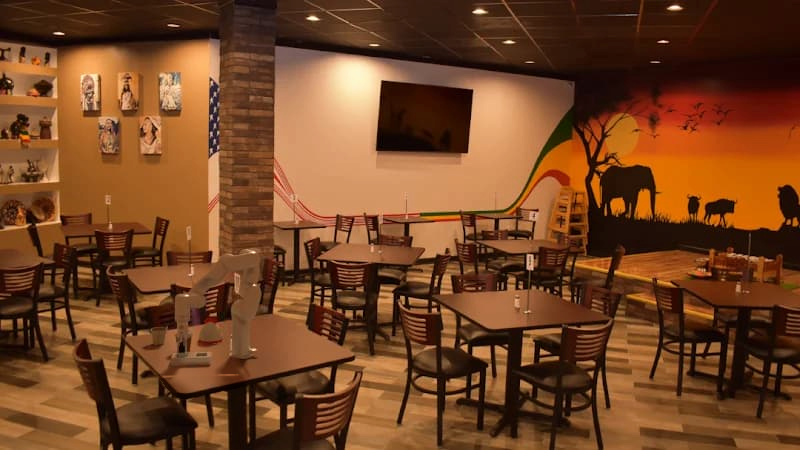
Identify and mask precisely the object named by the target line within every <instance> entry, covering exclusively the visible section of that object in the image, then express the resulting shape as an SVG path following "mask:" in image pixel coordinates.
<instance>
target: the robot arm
mask: <svg viewBox="0 0 800 450" xmlns="http://www.w3.org/2000/svg"><path fill="white" fill-rule="evenodd" d="M260 263H261V255H259V253H258V252H257V251H254V250H252V249H249V248H248V249H247V248H244V249H241V250H240V251H239V253H238V254H231V253H228V252H227V253H226V252H225V253H223V254H222V255H221V256H220V257H219V259H217V261H216V262H215V263H214V265H213V266H212V267H211V268H210V270H209V271H208V272H207V274H205V275H204V276H202V277H201V278H199V280H198V281H196V282H195V284H194V285H193V286H192V287H191V289H189V291H188V293H178V294H176V295H175V296H174V321H175V322H176V328H177V329H176V332H177V339H178V340H179V353H185V340H187V339H188V331H189V322H190V321H191V309H200V308H203V307H204V306H206V304H207V299H206V296H204V294H205V293H206V292H207V291H208V290H209V289H210V288H213V287H214V286H218V285H220V284H221V283H222V282H223V280H224V279H225V278H226V276H227V275H228V274H229V273H230V272H238V271H242V270H243V275H242V279H241V282H240V285H239V286H238V287H239V288H238V294H239V296H240V297H242V299H237V300H235V301H234V302H233V303H232V305H231V308H230V314H231V315H230V316H231V320H232V321H231V322H232V323H231V324H232V325H231V352H230V353H228V356H229V357H231V358H235V359H236V358H237V359H240V360H247V359H250V358H251V357H252V356H253V354H258V349H256V348H251V346H250V338H251V337H250V330H251V329H250V328H251V324H250V321H251V320H253V319H254V318H255V317H256V314H257V312H258V308H259V305H260V302H261V298H262V290H261V287H260V286H259V285H258V282H259V278H260V277H259V276H260Z"/></svg>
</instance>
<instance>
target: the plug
mask: <svg viewBox="0 0 800 450" xmlns="http://www.w3.org/2000/svg"><path fill="white" fill-rule="evenodd" d="M177 348H178V351H177V352H178V357H186V353H187V340H185V353H179V341H178V342H177V343H176V349H177Z"/></svg>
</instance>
